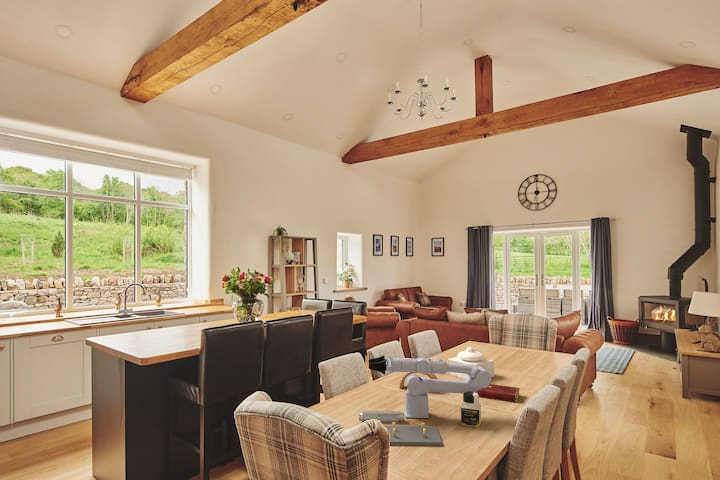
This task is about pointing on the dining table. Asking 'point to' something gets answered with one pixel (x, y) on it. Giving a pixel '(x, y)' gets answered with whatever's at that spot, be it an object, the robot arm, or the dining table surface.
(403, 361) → the robot arm
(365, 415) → the spanner bar
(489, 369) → the butter dish
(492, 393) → the hardcover book
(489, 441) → the dining table surface
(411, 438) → the tool rest
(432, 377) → the arch
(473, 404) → the medicine bottle
